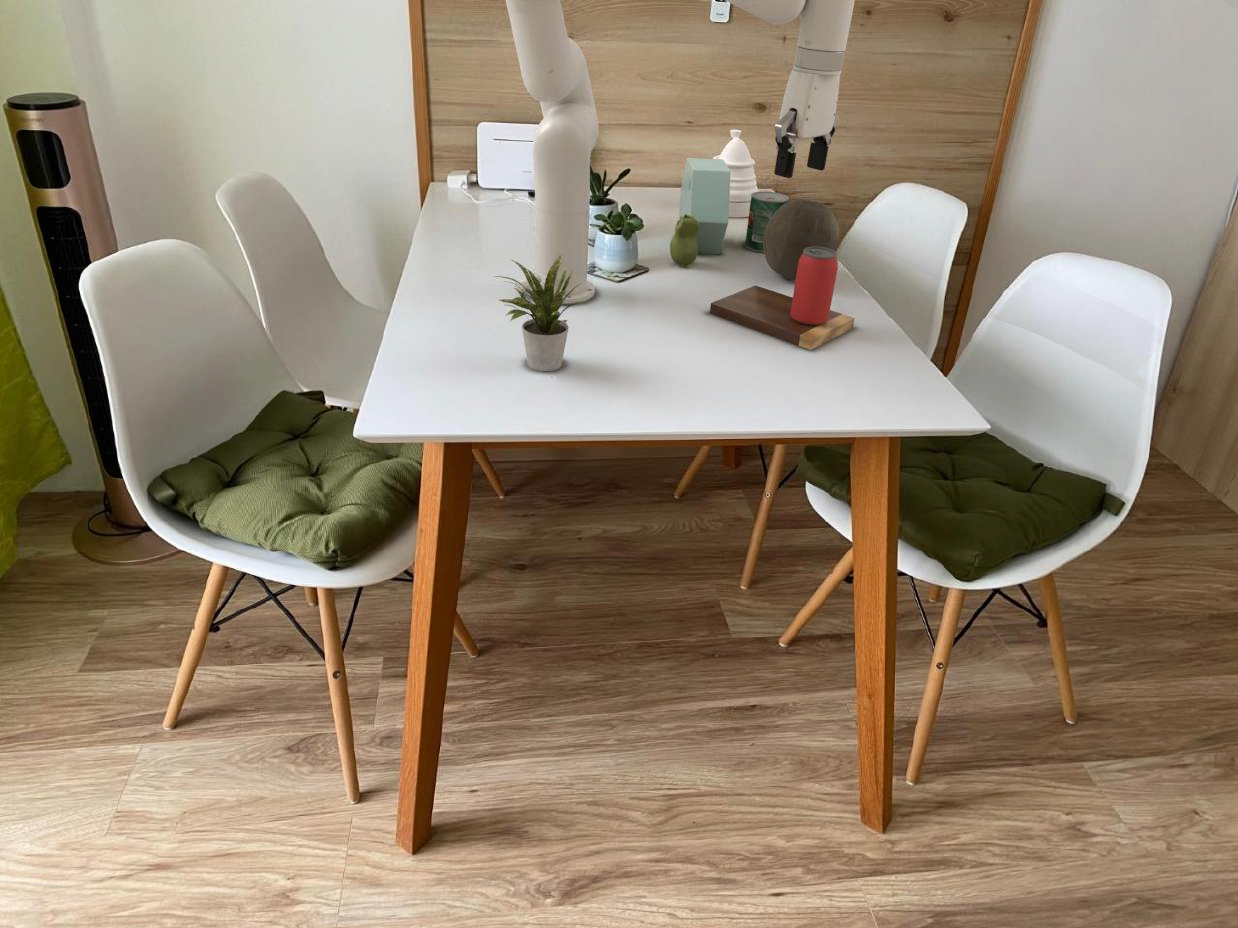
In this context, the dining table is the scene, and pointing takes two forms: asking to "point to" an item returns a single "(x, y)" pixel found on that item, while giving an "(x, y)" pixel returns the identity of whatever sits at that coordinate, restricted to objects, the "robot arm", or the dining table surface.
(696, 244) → the pear
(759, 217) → the canned tomato
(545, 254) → the robot arm
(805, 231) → the brown coconut
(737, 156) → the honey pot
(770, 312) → the cutting board
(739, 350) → the dining table surface
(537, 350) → the house plant
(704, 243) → the pale green tall block
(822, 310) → the beer can
